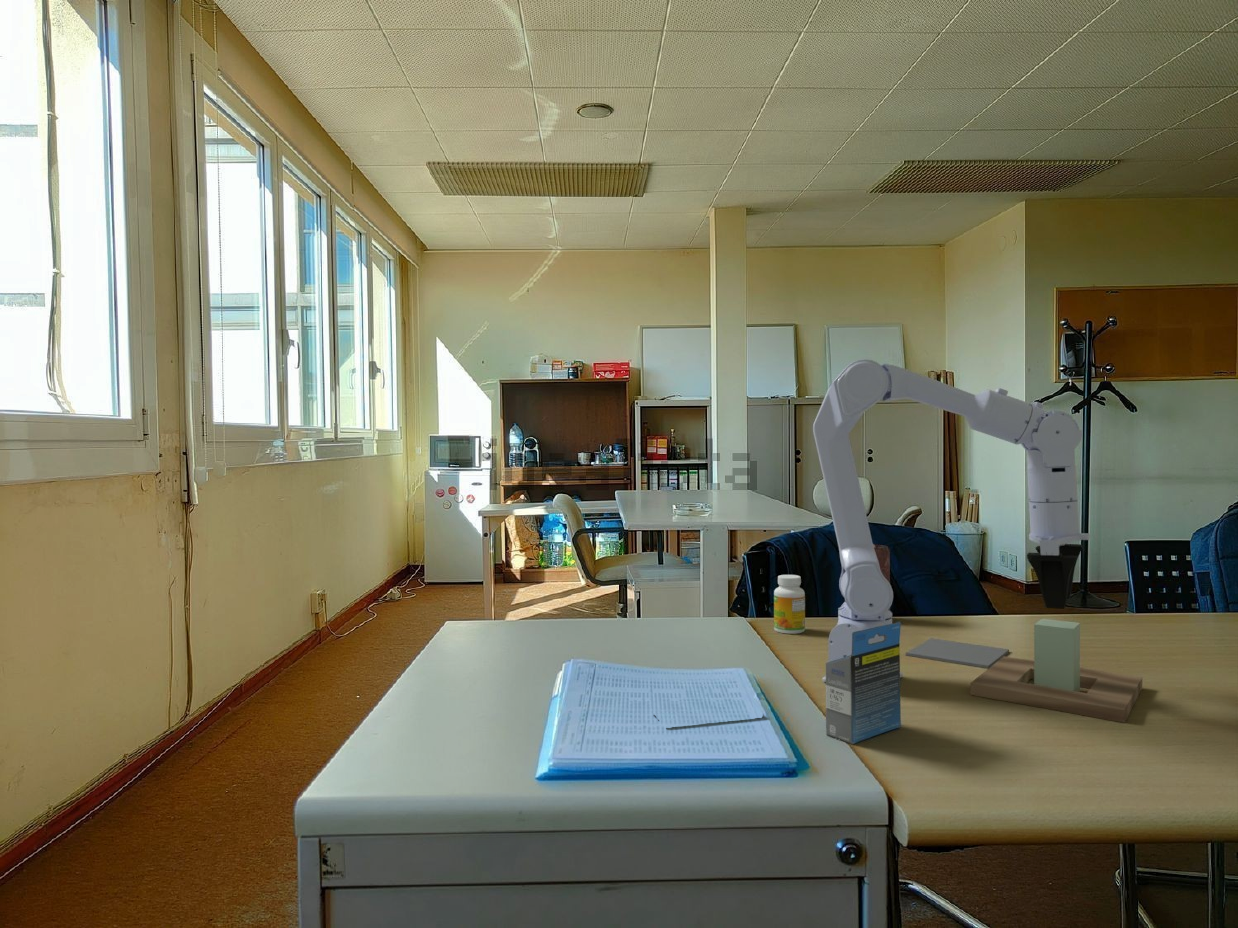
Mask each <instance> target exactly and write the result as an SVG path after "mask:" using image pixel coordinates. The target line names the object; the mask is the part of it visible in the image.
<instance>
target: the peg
mask: <svg viewBox="0 0 1238 928" xmlns="http://www.w3.org/2000/svg"><path fill="white" fill-rule="evenodd" d="M1033 627H1034V628H1033V629H1034V632H1033V635H1034V636H1033V637H1034V638H1033V639H1034V640H1033V641H1034V642H1033V643H1034V648H1033V649H1034V650H1033V651H1034V654H1033V656H1034V657H1033V661H1034V679H1033V680H1034V681H1033V684H1034V685H1040V686H1046V687H1052V688H1058V689H1064V690H1070V691H1076V692H1081V687H1080V668H1081V623H1080V622H1074V621H1065V620H1057V619H1049V618H1041V619H1039V620H1038V621H1036V622H1035V623H1034V625H1033Z"/></svg>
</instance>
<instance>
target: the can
mask: <svg viewBox="0 0 1238 928" xmlns="http://www.w3.org/2000/svg"><path fill="white" fill-rule="evenodd" d="M873 546H874V550H875V553H876V556H877V559H878V562H879V566H880V570H881V572H882V574H883V576H884V577H885V578H886V579H887V581H888V582H889V583H890V584H891V571H890V570H891V558H890V557H891V550H890V549H889V546H887V545H881V544H874V543H873ZM888 610H889V611H891V607H890V608H889V609H888Z"/></svg>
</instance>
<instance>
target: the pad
mask: <svg viewBox="0 0 1238 928" xmlns="http://www.w3.org/2000/svg"><path fill="white" fill-rule="evenodd" d="M1009 652H1010V649H1009V648H1002V647H996V646H988V645H983V644H982V645H981V644H974V643H968V642H962V641H961V642H960V641H955V640H953V641H952V640H948V639H941V638H940V639H939V638H928V639H927V640H925V641H924V642H922V643H920V644H918V645H917V646H915V647H913V648H911V649H910V650H908V651H906V652H905V656H909V657H914V658H922V659H928V660H934V661H940V662H947V663H952V664H959V665H965V666H971V667H978V668H984V669H989V668H990V667H991V666H992V665H994V664H995V663H996V662H997V661H999V660H1000V659H1001V658H1002V657H1004V656H1005V657H1006V655H1008V653H1009Z"/></svg>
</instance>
